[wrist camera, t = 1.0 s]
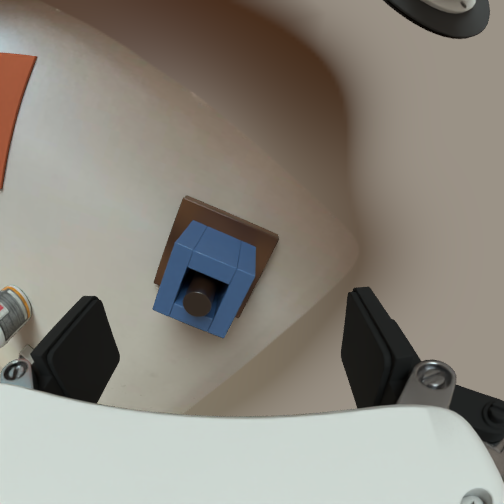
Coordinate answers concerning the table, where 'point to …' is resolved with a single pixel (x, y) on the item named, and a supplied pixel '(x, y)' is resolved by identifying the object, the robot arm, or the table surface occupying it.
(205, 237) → the blue block
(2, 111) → the mat
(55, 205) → the table surface
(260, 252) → the dowel stand
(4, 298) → the pill bottle
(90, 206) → the table surface
